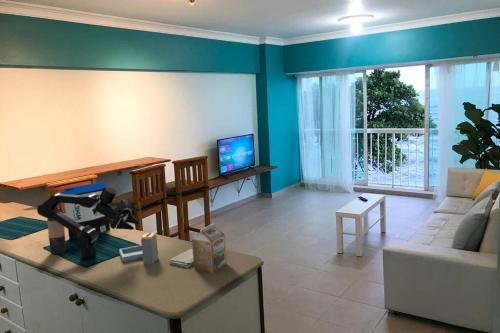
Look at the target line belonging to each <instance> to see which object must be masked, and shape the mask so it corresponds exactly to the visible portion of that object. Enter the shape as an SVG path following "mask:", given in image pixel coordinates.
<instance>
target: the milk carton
mask: <svg viewBox="0 0 500 333" xmlns="http://www.w3.org/2000/svg"><path fill="white" fill-rule="evenodd" d="M191 243H192V245H191V246H192V249H193V260H194V265H193V269H195V270H199V271H203V272H208V273H212V274H213V273H215V272H216V271H218V270H220V269H221V268H224V266H227V264H228V263H227V249H226V248H227V247H226V234H225V233H224V232H223V231H222V230H221V229H220V228H219V227H217V226H216V223H212V224H209V225H207V226H205V227H203V228H201V229H200V231H199V233H197V234H195V235H194V236H193V237H192V238H191Z"/></svg>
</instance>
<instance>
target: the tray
mask: <svg viewBox="0 0 500 333" xmlns="http://www.w3.org/2000/svg"><path fill="white" fill-rule="evenodd" d="M118 250H119V255H120V257H121V261H122V263H128V262H132V261H138V260H143V254H142V244H140V245H135V246H129V247H124V248H119V249H118Z"/></svg>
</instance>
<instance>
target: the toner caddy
mask: <svg viewBox="0 0 500 333" xmlns="http://www.w3.org/2000/svg"><path fill="white" fill-rule="evenodd" d="M157 240H158V239H157V233H156V232H146V233H145V234H143V235H142V236H141V238H140V243H141V245H142V254H143V259H142V261H143V262H142V263H143V264H155V262H157V261H158V260H159V250H158V241H157Z"/></svg>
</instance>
